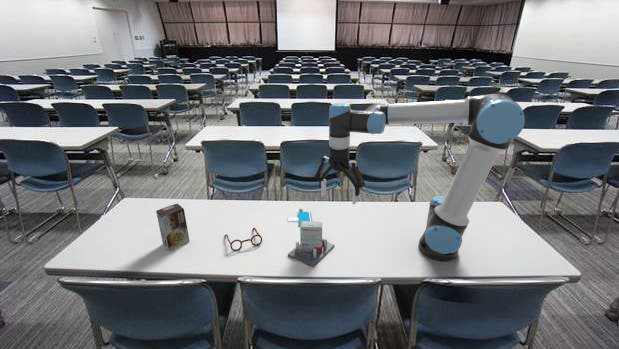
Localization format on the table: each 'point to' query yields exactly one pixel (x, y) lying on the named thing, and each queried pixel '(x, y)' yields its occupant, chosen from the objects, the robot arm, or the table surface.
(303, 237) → the ink box
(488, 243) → the table surface
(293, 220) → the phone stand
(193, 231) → the table surface
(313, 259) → the cradle
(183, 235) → the coffee box
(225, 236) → the glasses
